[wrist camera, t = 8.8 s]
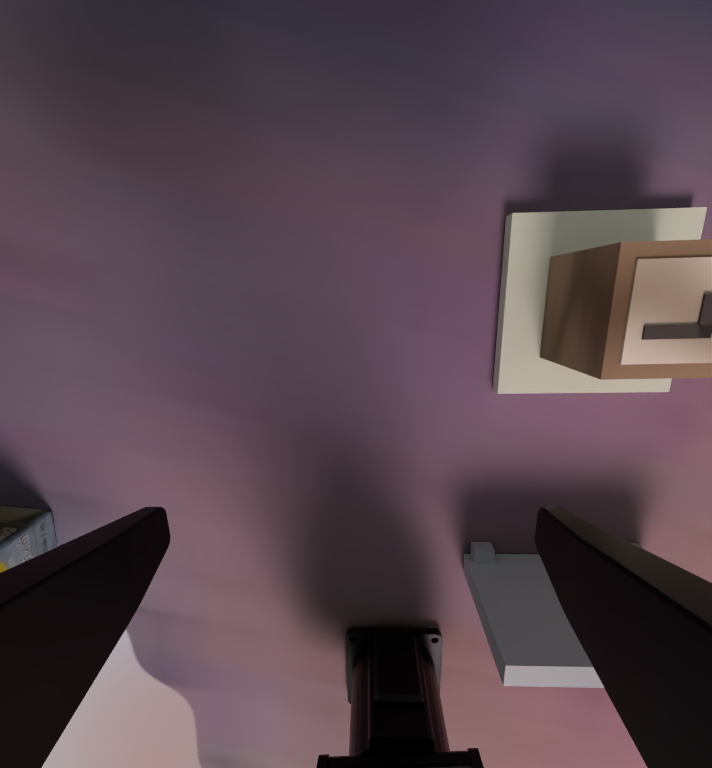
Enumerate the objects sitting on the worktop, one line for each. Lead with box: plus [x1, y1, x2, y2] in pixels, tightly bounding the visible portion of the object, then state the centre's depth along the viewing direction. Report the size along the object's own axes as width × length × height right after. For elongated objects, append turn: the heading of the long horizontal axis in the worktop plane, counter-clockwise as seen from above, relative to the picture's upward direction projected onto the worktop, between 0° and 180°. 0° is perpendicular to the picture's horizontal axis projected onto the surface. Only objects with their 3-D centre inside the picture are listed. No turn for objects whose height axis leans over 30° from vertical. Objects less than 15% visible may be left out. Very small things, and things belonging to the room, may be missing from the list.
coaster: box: [493, 207, 707, 394], centre depth 18 cm, size 9×9×1 cm
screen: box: [463, 542, 643, 688], centre depth 19 cm, size 3×11×7 cm, turn 91°
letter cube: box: [540, 239, 712, 380], centre depth 15 cm, size 5×5×5 cm
